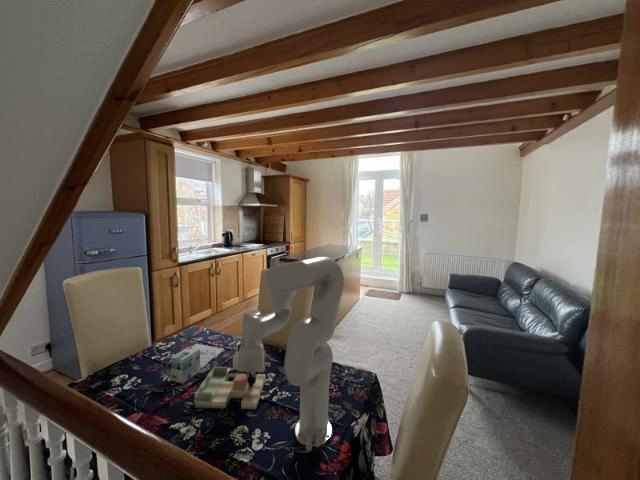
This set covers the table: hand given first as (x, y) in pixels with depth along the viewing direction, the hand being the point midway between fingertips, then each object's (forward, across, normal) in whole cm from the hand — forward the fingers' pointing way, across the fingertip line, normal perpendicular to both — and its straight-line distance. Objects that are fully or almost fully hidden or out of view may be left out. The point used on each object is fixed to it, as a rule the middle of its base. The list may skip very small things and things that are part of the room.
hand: (251, 384), depth 109 cm
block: (+1, -4, 0) cm, 5 cm away
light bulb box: (+4, -32, +10) cm, 34 cm away
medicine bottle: (+4, -9, +19) cm, 21 cm away
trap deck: (+4, -8, 0) cm, 8 cm away
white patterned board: (+5, -34, +27) cm, 44 cm away
